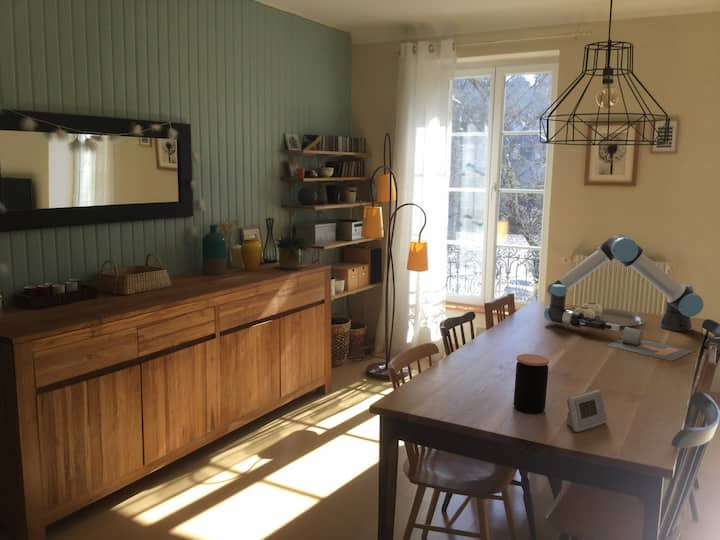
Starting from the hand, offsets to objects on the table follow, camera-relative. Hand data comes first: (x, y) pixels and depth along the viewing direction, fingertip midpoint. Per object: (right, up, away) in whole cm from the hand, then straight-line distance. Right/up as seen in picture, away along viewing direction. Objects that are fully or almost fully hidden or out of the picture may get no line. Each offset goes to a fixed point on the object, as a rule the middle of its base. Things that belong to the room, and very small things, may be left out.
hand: (618, 328), depth 316 cm
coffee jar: (-66, -20, -90) cm, 113 cm away
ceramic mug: (+5, -7, -4) cm, 9 cm away
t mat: (+10, -8, -11) cm, 17 cm away
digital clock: (-51, -23, -103) cm, 117 cm away
